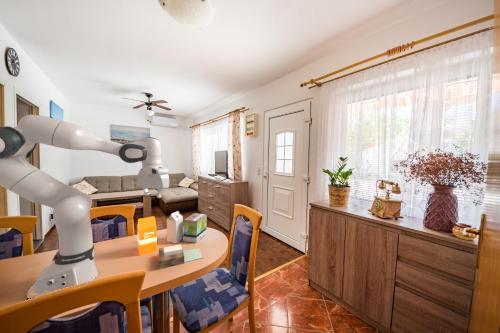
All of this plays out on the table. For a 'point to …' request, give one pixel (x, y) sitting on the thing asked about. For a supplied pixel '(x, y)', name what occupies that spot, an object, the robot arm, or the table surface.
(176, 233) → the milk carton
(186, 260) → the mat
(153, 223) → the orange juice
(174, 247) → the beige flat block
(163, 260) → the block
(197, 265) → the table surface
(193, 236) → the tea box
